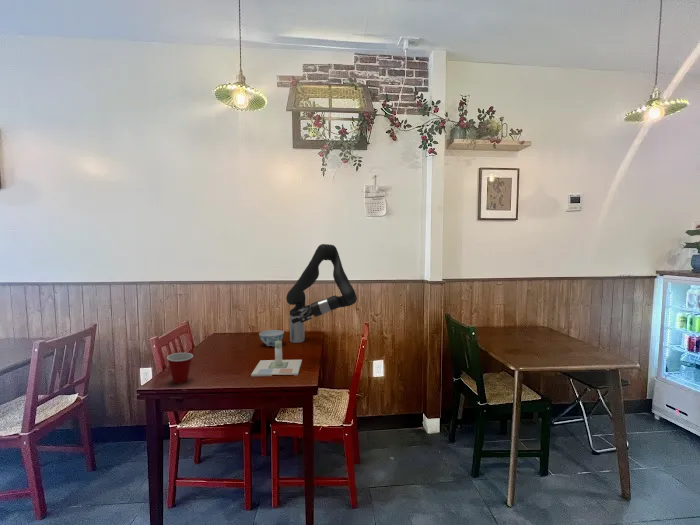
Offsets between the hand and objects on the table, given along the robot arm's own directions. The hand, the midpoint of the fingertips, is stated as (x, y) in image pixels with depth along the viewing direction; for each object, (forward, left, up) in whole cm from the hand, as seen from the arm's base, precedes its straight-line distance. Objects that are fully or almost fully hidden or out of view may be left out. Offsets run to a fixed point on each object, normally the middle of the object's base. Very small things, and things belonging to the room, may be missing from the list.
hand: (292, 318), depth 184 cm
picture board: (+10, -6, -23) cm, 26 cm away
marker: (+8, -6, -22) cm, 24 cm away
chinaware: (-32, -17, -23) cm, 43 cm away
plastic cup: (+24, -48, -23) cm, 59 cm away
